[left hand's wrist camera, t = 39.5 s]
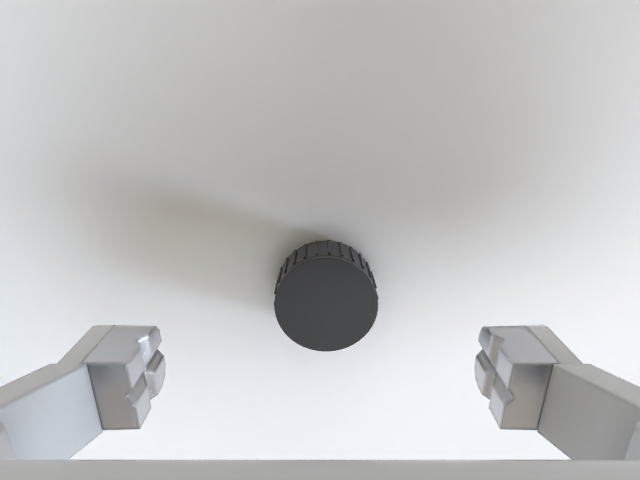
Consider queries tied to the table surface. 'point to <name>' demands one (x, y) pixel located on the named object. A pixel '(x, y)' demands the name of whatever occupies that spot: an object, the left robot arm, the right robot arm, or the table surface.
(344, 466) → the left robot arm
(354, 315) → the cap
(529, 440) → the table surface
